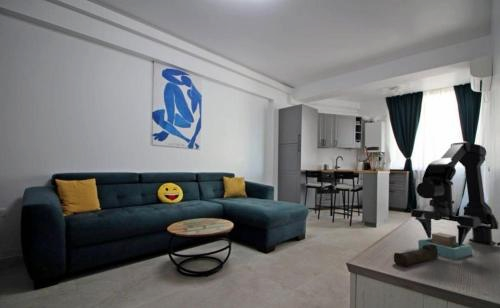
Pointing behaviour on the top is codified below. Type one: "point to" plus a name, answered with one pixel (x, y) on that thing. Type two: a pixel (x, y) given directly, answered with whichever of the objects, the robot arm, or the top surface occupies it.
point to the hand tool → (416, 256)
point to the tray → (448, 249)
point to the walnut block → (444, 240)
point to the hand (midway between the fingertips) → (444, 241)
